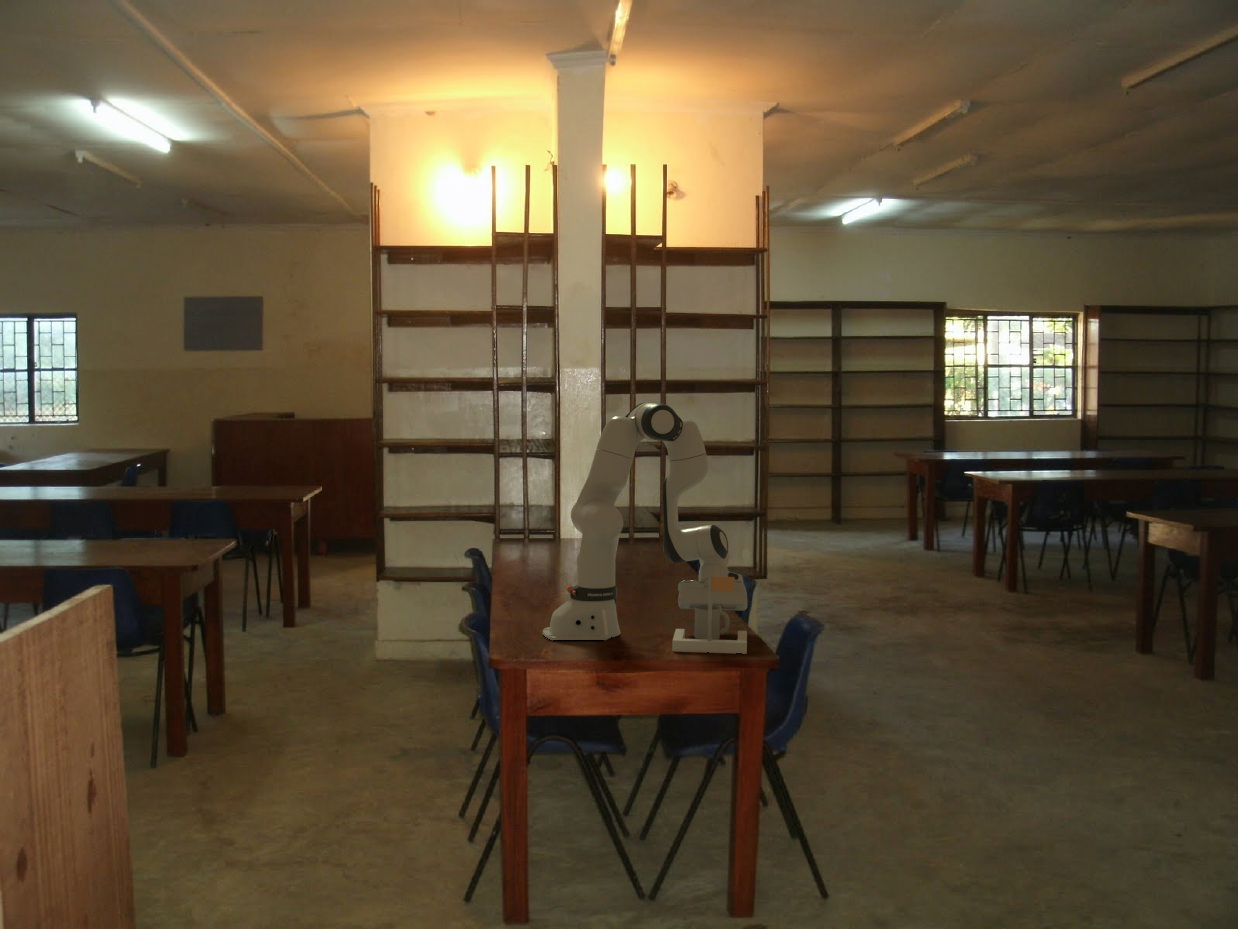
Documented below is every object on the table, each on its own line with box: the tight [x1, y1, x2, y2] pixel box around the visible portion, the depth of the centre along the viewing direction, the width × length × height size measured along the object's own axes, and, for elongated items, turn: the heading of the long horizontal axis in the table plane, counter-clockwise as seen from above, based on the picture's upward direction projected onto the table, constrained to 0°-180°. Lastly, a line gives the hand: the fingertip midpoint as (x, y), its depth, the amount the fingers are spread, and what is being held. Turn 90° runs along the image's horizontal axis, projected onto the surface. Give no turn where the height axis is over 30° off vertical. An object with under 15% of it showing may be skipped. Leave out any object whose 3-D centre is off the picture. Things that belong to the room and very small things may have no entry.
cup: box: [694, 605, 731, 640], centre depth 307 cm, size 7×10×9 cm
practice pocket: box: [671, 574, 748, 655], centre depth 297 cm, size 14×20×21 cm
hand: (712, 620), depth 311 cm, fingers closed
